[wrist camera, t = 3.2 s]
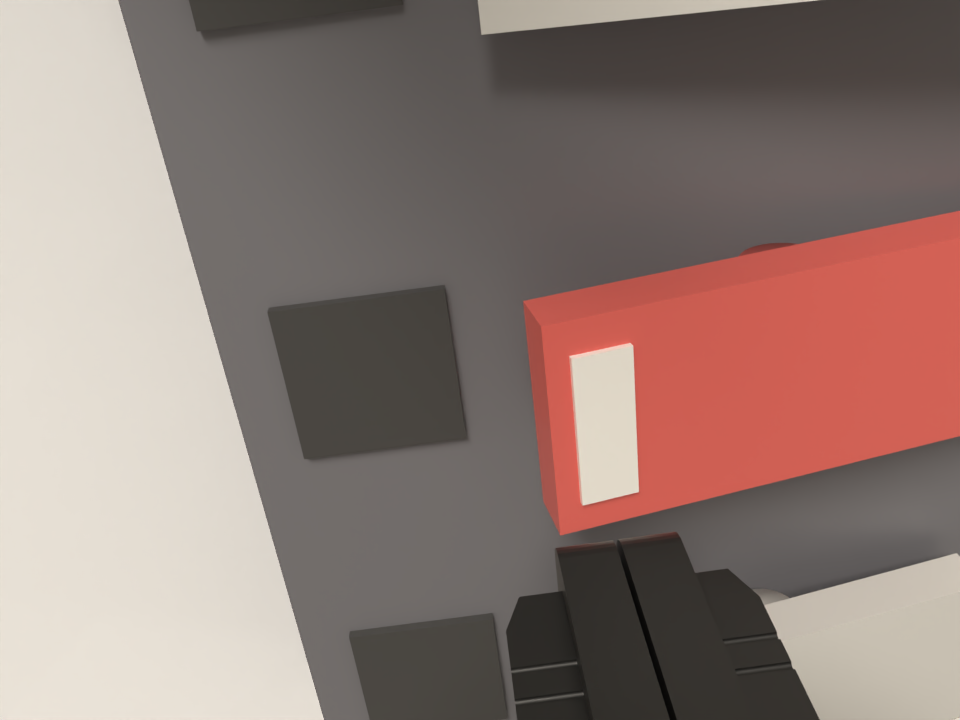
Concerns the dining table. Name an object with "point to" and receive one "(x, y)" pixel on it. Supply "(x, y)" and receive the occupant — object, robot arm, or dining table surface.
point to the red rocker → (745, 370)
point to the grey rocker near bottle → (593, 11)
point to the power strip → (517, 284)
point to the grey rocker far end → (877, 643)
